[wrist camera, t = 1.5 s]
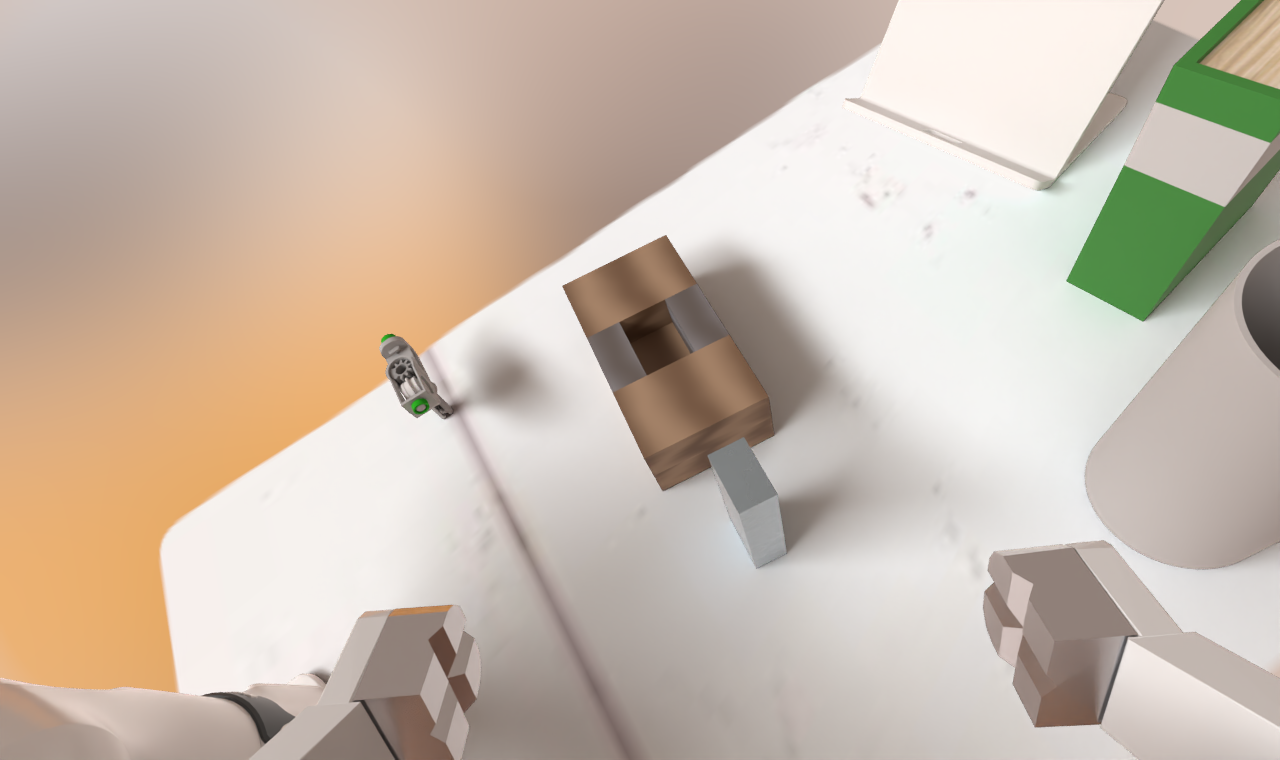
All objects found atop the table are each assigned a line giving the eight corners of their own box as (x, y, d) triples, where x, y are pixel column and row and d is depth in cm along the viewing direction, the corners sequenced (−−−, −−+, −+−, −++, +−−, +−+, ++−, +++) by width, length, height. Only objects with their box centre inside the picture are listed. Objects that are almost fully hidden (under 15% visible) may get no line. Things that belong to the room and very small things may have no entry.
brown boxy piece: (662, 491, 65) (644, 458, 58) (585, 328, 77) (562, 286, 70) (774, 435, 65) (768, 396, 58) (679, 282, 77) (665, 234, 70)
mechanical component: (442, 374, 78) (396, 326, 70) (475, 439, 73) (429, 395, 64) (420, 388, 78) (371, 342, 70) (451, 454, 73) (402, 412, 64)
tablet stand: (929, 38, 88) (950, -106, 73) (1127, 105, 75) (1199, -53, 61) (838, 122, 84) (841, -12, 70) (1031, 207, 71) (1084, 65, 57)
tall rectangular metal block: (756, 568, 59) (738, 514, 47) (730, 519, 62) (707, 455, 49) (786, 553, 59) (777, 494, 47) (759, 505, 62) (743, 436, 49)
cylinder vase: (1087, 557, 54) (1256, 419, 33) (1076, 417, 59) (1216, 223, 38) (1281, 585, 50) (1613, 450, 29) (1250, 433, 56) (1512, 226, 35)
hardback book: (1172, 173, 69) (1317, -74, 49) (1252, 205, 66) (1444, -48, 45) (1066, 281, 66) (1173, 65, 46) (1143, 321, 62) (1297, 105, 42)
